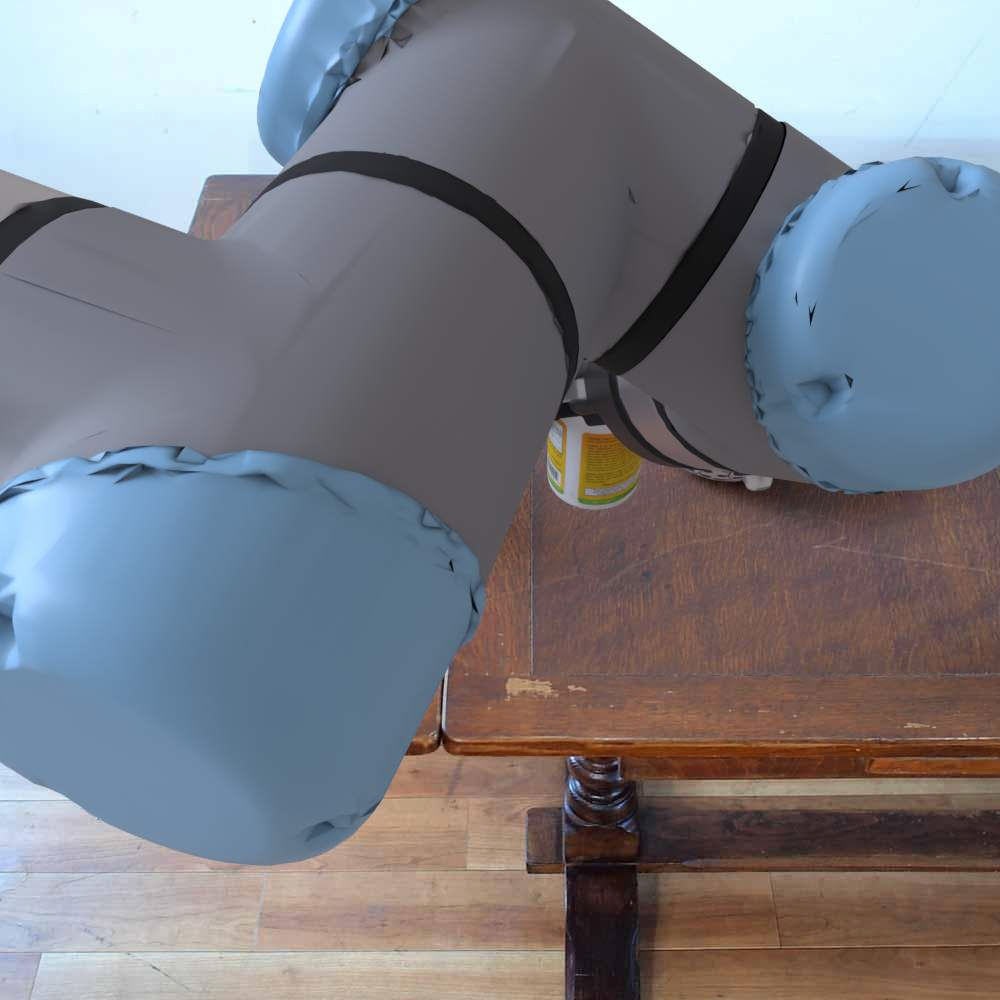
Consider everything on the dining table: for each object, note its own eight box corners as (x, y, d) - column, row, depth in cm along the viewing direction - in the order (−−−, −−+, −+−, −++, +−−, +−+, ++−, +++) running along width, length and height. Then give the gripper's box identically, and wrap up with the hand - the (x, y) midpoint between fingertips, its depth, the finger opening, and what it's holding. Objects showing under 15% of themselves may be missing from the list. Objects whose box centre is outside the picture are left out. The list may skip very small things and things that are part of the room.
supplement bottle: (655, 467, 61) (674, 340, 54) (610, 527, 58) (624, 402, 51) (576, 432, 63) (584, 305, 55) (529, 488, 60) (531, 362, 53)
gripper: (477, 510, 36) (433, 479, 59) (962, 431, 39) (738, 431, 62) (445, 297, 36) (413, 349, 59) (939, 229, 38) (722, 305, 61)
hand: (579, 391), depth 60 cm, fingers closed on supplement bottle, 5 cm apart
